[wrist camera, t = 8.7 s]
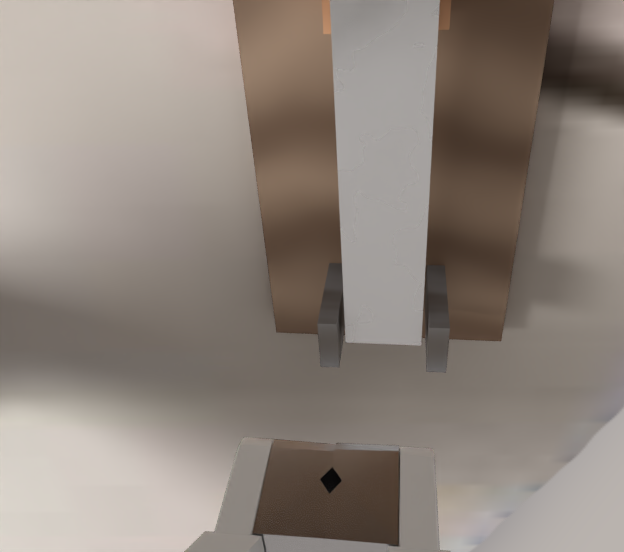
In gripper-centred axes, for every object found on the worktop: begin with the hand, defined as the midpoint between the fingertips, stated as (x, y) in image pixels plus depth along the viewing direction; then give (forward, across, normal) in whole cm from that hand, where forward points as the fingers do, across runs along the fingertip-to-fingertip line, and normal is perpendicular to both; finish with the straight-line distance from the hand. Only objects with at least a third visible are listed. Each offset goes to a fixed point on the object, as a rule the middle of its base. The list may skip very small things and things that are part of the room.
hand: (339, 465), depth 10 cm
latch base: (+24, 0, +4) cm, 24 cm away
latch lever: (+19, 0, +4) cm, 20 cm away
